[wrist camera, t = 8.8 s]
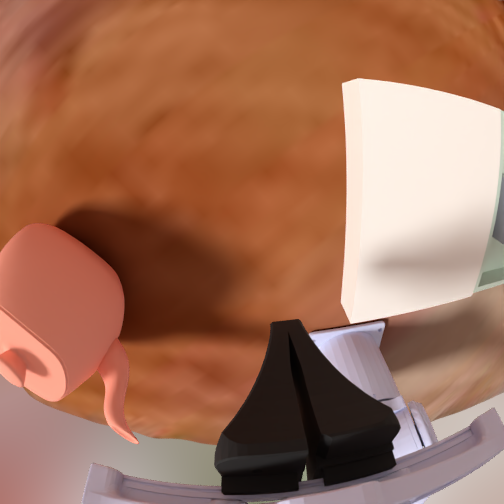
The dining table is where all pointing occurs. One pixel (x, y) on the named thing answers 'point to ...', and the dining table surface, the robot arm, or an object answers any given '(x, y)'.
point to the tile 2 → (500, 216)
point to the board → (415, 196)
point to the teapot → (62, 319)
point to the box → (493, 240)
